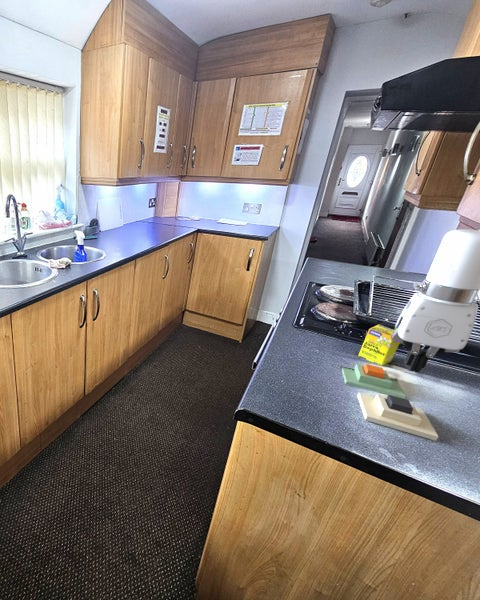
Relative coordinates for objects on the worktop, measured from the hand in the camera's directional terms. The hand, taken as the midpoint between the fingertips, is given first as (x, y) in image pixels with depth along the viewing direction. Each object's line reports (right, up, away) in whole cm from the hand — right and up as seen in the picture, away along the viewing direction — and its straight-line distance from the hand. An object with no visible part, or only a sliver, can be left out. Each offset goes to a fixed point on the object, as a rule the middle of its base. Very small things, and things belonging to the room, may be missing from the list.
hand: (411, 368), depth 73 cm
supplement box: (+13, -4, +25) cm, 28 cm away
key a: (-1, -10, +2) cm, 10 cm away
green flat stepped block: (+4, -7, +15) cm, 17 cm away
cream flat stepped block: (-1, -12, +3) cm, 12 cm away
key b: (+4, -5, +14) cm, 16 cm away
